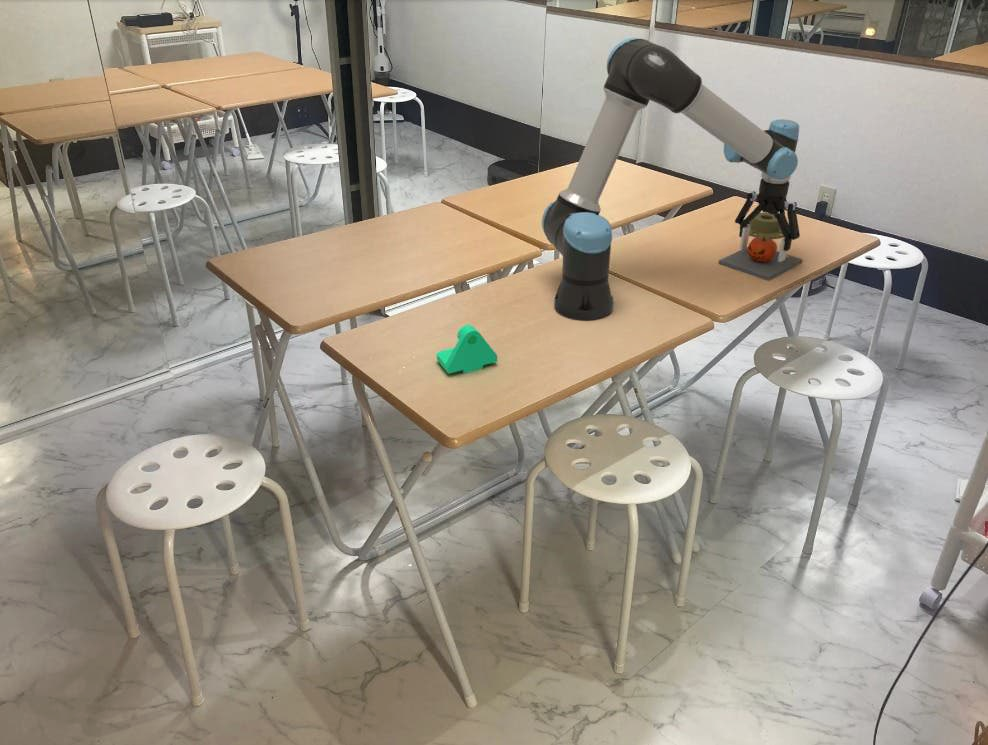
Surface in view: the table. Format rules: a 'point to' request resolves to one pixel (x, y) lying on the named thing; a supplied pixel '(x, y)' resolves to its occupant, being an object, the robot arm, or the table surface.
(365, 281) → the table surface
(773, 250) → the pumpkin
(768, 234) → the flange
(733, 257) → the mat
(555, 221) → the robot arm
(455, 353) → the camera mount
